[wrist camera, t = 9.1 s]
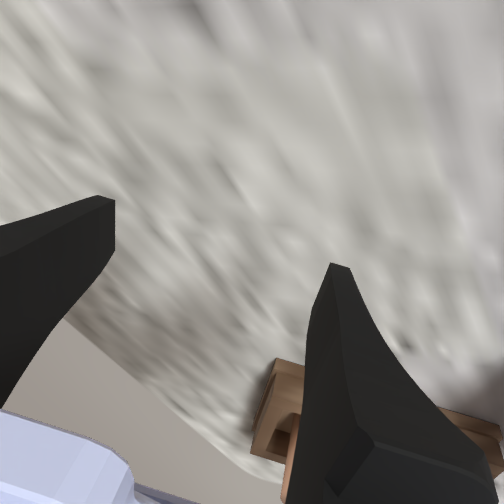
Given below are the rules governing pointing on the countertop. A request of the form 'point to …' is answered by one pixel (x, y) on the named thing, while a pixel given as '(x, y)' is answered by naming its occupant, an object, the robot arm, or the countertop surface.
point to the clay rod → (290, 455)
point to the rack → (290, 401)
